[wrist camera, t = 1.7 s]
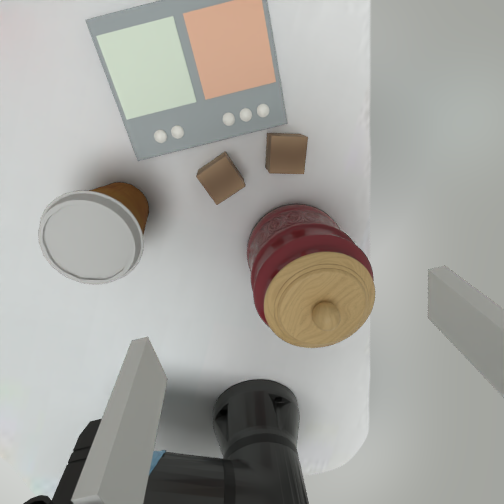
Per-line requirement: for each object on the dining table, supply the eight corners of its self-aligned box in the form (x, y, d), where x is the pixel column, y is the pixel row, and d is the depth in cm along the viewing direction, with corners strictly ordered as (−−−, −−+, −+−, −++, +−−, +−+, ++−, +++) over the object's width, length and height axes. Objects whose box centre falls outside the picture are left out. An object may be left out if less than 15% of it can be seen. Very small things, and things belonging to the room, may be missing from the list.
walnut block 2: (296, 167, 41) (303, 174, 37) (265, 166, 41) (269, 173, 37) (299, 133, 39) (307, 137, 36) (267, 132, 39) (271, 136, 35)
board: (286, 123, 38) (287, 123, 37) (139, 159, 39) (137, 161, 38) (261, -24, 33) (262, -28, 32) (88, 21, 33) (84, 19, 32)
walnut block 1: (243, 178, 41) (245, 186, 37) (217, 196, 42) (216, 205, 38) (225, 151, 39) (225, 156, 36) (198, 169, 40) (196, 176, 36)
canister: (276, 301, 49) (302, 398, 33) (227, 235, 44) (230, 312, 28) (353, 256, 47) (421, 336, 31) (311, 182, 42) (365, 231, 26)
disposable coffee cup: (71, 217, 41) (17, 259, 30) (103, 152, 38) (56, 173, 27) (140, 254, 44) (114, 304, 33) (175, 196, 41) (158, 230, 30)
